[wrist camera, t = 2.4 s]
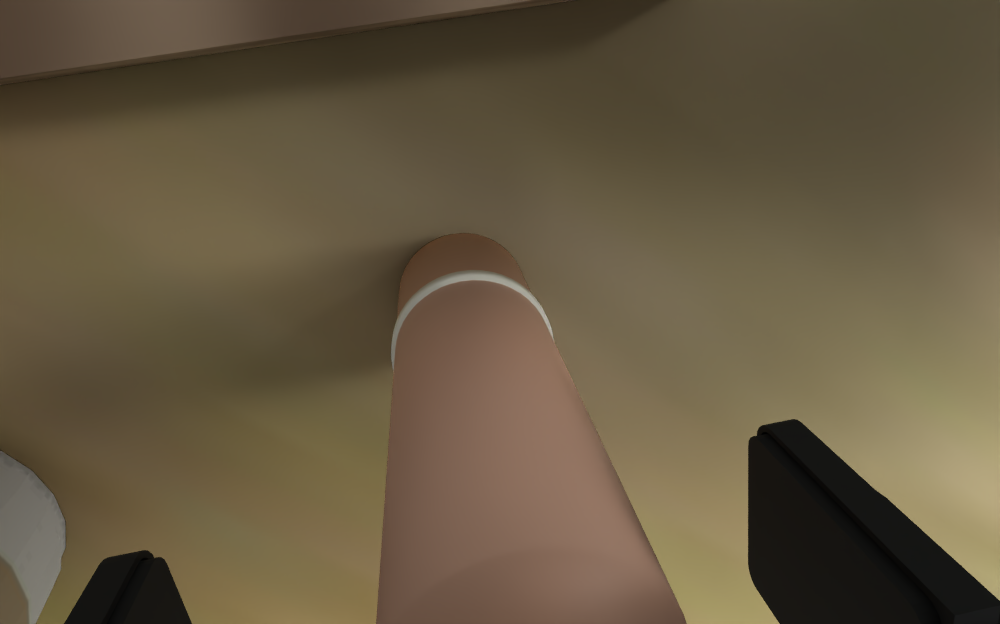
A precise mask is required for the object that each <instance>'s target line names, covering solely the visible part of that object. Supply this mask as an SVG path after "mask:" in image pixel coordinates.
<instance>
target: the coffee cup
mask: <svg viewBox="0 0 1000 624" xmlns="http://www.w3.org/2000/svg"><path fill="white" fill-rule="evenodd" d="M65 548H66V530H65V519H64V517H63V515H62V512H61V510H60V508H59V506H58V503H57V501H56V499H55V496H54V495H53V493H52V492H51V491H50V490H49V489H48V488H47V487H46V486H45V485H44V483H43V482H42V481H41V480H40V479H39V478H38V477H37V476H36V475H35V473H34V472H33V471H32V470H30V469H29V468H27V467H25V466H24V465H22V464H21V463H19V462H18V461H16V460H15V459H13V458H11V457H10V456H8V455H7V454H5V453H4V452H2V451H0V624H36V622H37V620H38V618H39V615H40V613H41V611H42V609H43V607H44V605H45V603H46V601H47V599H48V597H49V595H50V592H51V590H52V588H53V586H54V584H55V581H56V579H57V577H58V575H59V572H60V570H61V557H62V555H63V552H64V550H65Z"/></svg>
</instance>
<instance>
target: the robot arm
mask: <svg viewBox="0 0 1000 624" xmlns="http://www.w3.org/2000/svg"><path fill="white" fill-rule="evenodd" d="M748 565H749V571H750V575H751V578H752V581H753V583H754V585H755V587H756V589H757V590H758V592H759V593H760V595H761V596H762V598H763V599H764V601H765V602H766V604H767V605H768V607H769V608H770V610H771V611H772V613H773V614H774V616H775V617H776V619H777V620H778V622H779V623H780V624H1000V601H999V600H998V599H997V598H996V597H995V596H994V595H993V594H992V593H990V592H989V591H988V590H987V589H986V588H985V587H984V586H983V585H982V584H981V583H979V582H978V581H977V580H976V579H975V578H974V577H973V576H972V575H971V574H970V573H968V572H967V571H966V570H965V569H964V568H963V567H962V566H961V565H960V564H958V563H957V562H956V561H955V560H954V559H953V558H952V557H951V556H950V555H949V554H947V553H946V552H945V551H944V550H943V549H942V548H941V547H940V546H939V545H938V544H936V543H935V542H934V541H933V540H932V539H931V538H930V537H929V536H928V535H927V534H925V533H924V532H923V531H922V530H921V529H920V528H919V527H918V526H917V525H916V524H914V523H913V522H912V521H911V520H910V519H909V518H908V517H907V516H906V515H905V514H903V513H902V512H901V511H900V510H899V509H898V508H897V507H896V506H895V505H894V504H892V503H891V502H890V501H889V500H888V499H887V498H886V497H884V496H883V495H882V494H880V493H879V492H877V491H876V490H875V489H874V488H872V487H871V486H870V485H869V484H868V483H867V482H866V481H865V480H864V479H863V478H862V477H860V476H859V475H858V474H857V473H856V472H855V471H854V470H853V469H852V468H851V467H849V466H848V465H847V464H846V463H845V462H844V461H843V460H842V459H841V458H840V457H839V456H837V455H836V454H835V453H834V452H833V451H832V450H831V449H830V448H829V447H828V446H826V445H825V444H824V443H823V442H822V441H821V440H820V439H819V438H818V437H817V436H816V435H814V434H813V433H812V432H811V431H810V430H809V429H808V428H807V427H806V426H805V425H803V424H802V423H801V422H800V421H798V420H795V419H792V420H787V421H782V422H777V423H772V424H767V425H762V426H761V427H759V429H758V431H757V436H753V437H751V438H750V440H749V445H748ZM64 624H192V623H191V621H190V618H189V616H188V613H187V611H186V609H185V606H184V604H183V601H182V599H181V597H180V594H179V592H178V589H177V587H176V585H175V582H174V580H173V577H172V575H171V573H170V570H169V568H168V565H167V563H166V562H165V560H164V559H163V558H161V557H157V558H154V557H153V555H152V554H151V553H150V552H149V551H146V550H143V551H138V552H133V553H128V554H123V555H118V556H113V557H108V558H106V559H104V560H103V561H102V562H101V563H100V565H99V566H98V568H97V569H96V571H95V573H94V574H93V576H92V578H91V580H90V581H89V583H88V585H87V586H86V588H85V590H84V591H83V593H82V595H81V596H80V598H79V600H78V601H77V603H76V605H75V606H74V608H73V610H72V611H71V613H70V615H69V616H68V618H67V620H66V621H65V623H64Z"/></svg>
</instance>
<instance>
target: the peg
mask: <svg viewBox="0 0 1000 624" xmlns="http://www.w3.org/2000/svg"><path fill="white" fill-rule="evenodd" d="M391 361H392V367H393V371H394V374H393V388H392V403H391V417H390V432H389V446H388V461H387V475H386V490H385V504H384V519H383V533H382V548H381V562H380V577H379V591H378V606H377V620H376V624H686V621H685V617H684V614H683V612H682V610H681V608H680V606H679V604H678V602H677V600H676V598H675V595H674V593H673V591H672V589H671V587H670V585H669V583H668V581H667V579H666V576H665V574H664V572H663V570H662V568H661V566H660V564H659V562H658V560H657V557H656V555H655V553H654V551H653V549H652V547H651V545H650V543H649V541H648V538H647V536H646V534H645V532H644V530H643V528H642V526H641V524H640V522H639V519H638V517H637V515H636V513H635V511H634V509H633V507H632V505H631V503H630V500H629V498H628V496H627V494H626V492H625V490H624V488H623V486H622V484H621V481H620V479H619V477H618V475H617V473H616V471H615V469H614V467H613V465H612V462H611V460H610V458H609V456H608V454H607V452H606V450H605V448H604V446H603V443H602V441H601V439H600V437H599V435H598V433H597V431H596V429H595V427H594V424H593V422H592V420H591V418H590V416H589V414H588V412H587V410H586V408H585V405H584V403H583V401H582V399H581V397H580V395H579V393H578V391H577V389H576V386H575V384H574V382H573V380H572V378H571V376H570V374H569V372H568V370H567V367H566V365H565V363H564V361H563V359H562V357H561V355H560V353H559V351H558V348H557V346H556V344H555V342H554V338H553V332H552V329H551V326H550V323H549V320H548V318H547V316H546V314H545V312H544V310H543V308H542V306H541V305H540V303H539V302H538V301H537V299H536V298H535V297H534V296H533V294H532V293H531V291H530V289H529V287H528V285H527V283H526V281H525V279H524V277H523V274H522V272H521V270H520V268H519V266H518V264H517V262H516V261H515V260H514V258H513V257H512V255H511V254H510V253H509V252H508V251H507V250H506V249H505V248H503V247H502V246H501V245H500V244H498V243H496V242H495V241H493V240H491V239H489V238H486V237H483V236H480V235H475V234H468V233H459V234H451V235H446V236H443V237H440V238H437V239H435V240H433V241H431V242H429V243H428V244H426V245H425V246H423V247H422V248H421V249H420V250H419V251H418V252H417V253H415V255H414V256H413V257H412V258H411V259H410V261H409V263H408V264H407V266H406V268H405V270H404V272H403V275H402V278H401V281H400V288H399V301H398V316H397V321H396V323H395V327H394V330H393V336H392V345H391Z"/></svg>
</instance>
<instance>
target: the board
mask: <svg viewBox="0 0 1000 624" xmlns="http://www.w3.org/2000/svg"><path fill="white" fill-rule="evenodd" d="M567 1H574V0H0V85H5V84H12V83H18V82H25V81H32V80H39V79H45V78H52V77H59V76H66V75H73V74H79V73H86V72H93V71H100V70H106V69H113V68H120V67H127V66H134V65H140V64H147V63H154V62H161V61H167V60H174V59H181V58H188V57H195V56H201V55H208V54H215V53H222V52H228V51H235V50H242V49H249V48H256V47H262V46H269V45H276V44H283V43H289V42H296V41H303V40H310V39H317V38H323V37H330V36H337V35H344V34H350V33H357V32H364V31H371V30H378V29H384V28H391V27H398V26H405V25H411V24H418V23H425V22H432V21H439V20H445V19H452V18H459V17H466V16H472V15H479V14H486V13H493V12H500V11H506V10H513V9H520V8H527V7H533V6H540V5H547V4H554V3H561V2H567Z"/></svg>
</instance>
